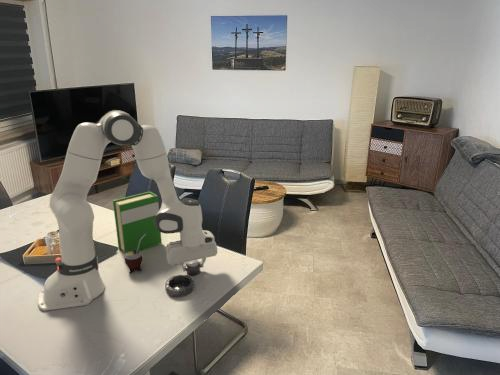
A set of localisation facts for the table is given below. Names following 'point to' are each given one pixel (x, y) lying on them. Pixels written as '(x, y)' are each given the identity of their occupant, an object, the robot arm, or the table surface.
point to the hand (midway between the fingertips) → (193, 268)
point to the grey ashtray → (179, 286)
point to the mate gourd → (134, 259)
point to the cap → (193, 268)
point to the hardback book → (136, 221)
